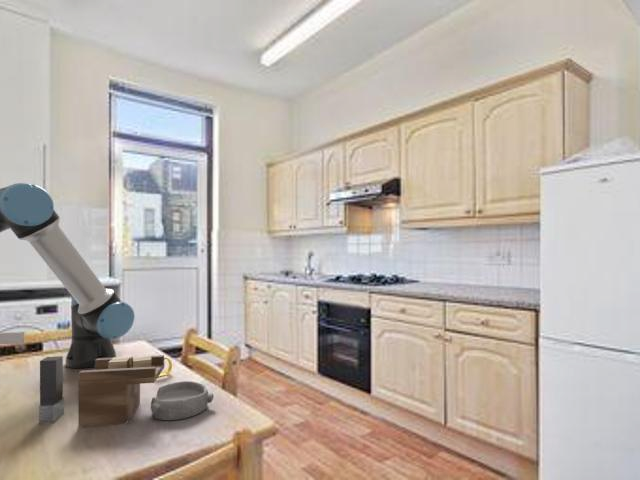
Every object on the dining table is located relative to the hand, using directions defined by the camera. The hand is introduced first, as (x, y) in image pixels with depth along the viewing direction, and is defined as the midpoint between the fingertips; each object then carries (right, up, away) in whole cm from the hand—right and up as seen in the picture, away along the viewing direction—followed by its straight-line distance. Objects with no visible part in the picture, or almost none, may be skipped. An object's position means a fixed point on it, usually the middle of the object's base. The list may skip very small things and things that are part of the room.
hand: (7, 343), depth 97 cm
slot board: (+26, -17, +3) cm, 31 cm away
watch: (+24, -18, +31) cm, 43 cm away
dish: (+39, -18, +5) cm, 43 cm away
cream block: (+30, -7, +4) cm, 31 cm away
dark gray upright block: (+10, -17, 0) cm, 20 cm away
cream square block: (+25, -7, +3) cm, 26 cm away
